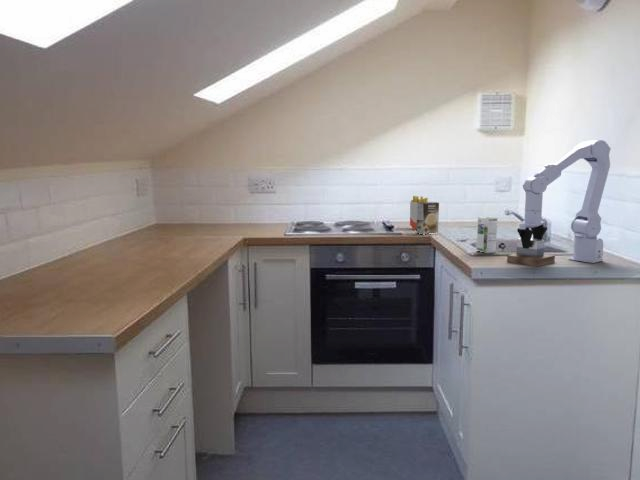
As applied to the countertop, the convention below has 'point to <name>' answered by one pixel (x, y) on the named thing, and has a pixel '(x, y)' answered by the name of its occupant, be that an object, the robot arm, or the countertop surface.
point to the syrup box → (486, 234)
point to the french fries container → (415, 210)
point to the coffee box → (427, 217)
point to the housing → (531, 248)
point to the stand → (531, 259)
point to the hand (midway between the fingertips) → (531, 247)
